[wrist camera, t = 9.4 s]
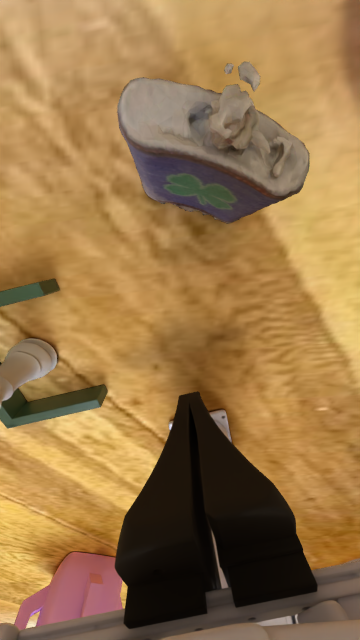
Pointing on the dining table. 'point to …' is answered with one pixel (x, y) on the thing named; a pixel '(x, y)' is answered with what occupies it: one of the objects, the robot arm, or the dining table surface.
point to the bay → (25, 412)
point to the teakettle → (75, 591)
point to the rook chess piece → (25, 365)
